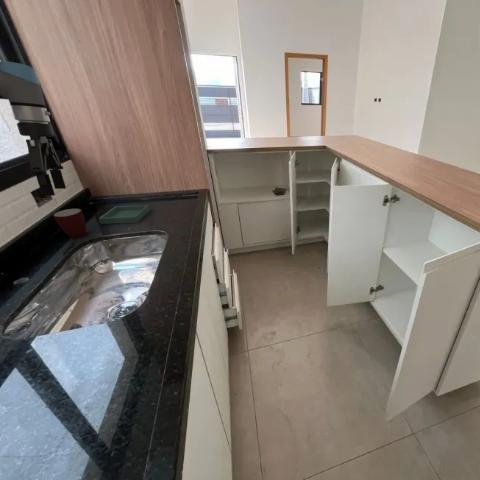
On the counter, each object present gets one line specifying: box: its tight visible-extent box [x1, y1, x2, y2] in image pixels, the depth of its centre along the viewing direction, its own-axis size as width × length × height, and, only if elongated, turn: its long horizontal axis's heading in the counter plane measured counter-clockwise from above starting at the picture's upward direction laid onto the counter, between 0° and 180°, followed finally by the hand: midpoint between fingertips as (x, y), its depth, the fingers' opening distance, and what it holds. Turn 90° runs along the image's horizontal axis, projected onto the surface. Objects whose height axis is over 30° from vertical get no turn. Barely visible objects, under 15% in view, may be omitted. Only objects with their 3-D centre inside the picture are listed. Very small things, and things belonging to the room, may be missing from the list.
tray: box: [98, 204, 151, 225], centre depth 121 cm, size 15×15×3 cm
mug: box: [53, 208, 87, 239], centre depth 103 cm, size 10×8×10 cm
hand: (55, 191), depth 88 cm, fingers open, 13 cm apart
